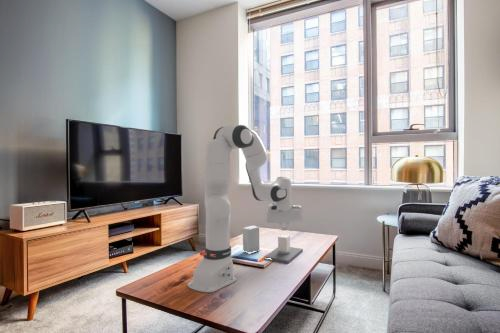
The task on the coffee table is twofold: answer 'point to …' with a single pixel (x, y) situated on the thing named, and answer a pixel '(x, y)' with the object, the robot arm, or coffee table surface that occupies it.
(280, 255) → the post base
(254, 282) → the coffee table surface
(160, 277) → the coffee table surface
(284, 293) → the coffee table surface
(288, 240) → the white upright block
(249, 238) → the skincare box
